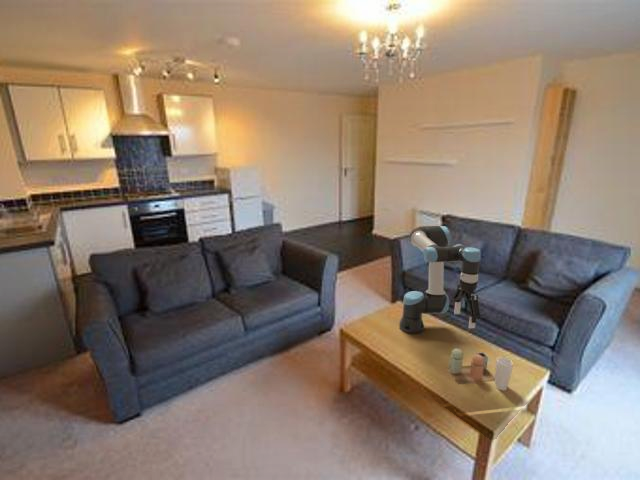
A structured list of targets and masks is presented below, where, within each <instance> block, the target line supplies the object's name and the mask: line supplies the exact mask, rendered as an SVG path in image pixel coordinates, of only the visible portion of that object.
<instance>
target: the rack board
mask: <svg viewBox="0 0 640 480" xmlns="http://www.w3.org/2000/svg"><path fill="white" fill-rule="evenodd" d="M445 369H446V370H447V372H448V373H449V374H450V376H451V377H452V378H453V380H454V381H455V382H456V384H457V385H464V384H465V385H467V384H477V383H487V382H495V375H493V374H492V373H491V372H490V370H488V369H487V368H486V371H483V375H482V380H475V381H474V380H473V379H472V377H471V376H470V369H471V364H470V365H462V368H461V373H457V374H453V373H452V371H451V370H450V366H449V367H445Z"/></svg>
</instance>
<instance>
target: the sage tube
mask: <svg viewBox="0 0 640 480" xmlns="http://www.w3.org/2000/svg"><path fill="white" fill-rule="evenodd" d="M463 360H464V359H463V357H461V358H460V359H455V358H454V357H453V356H452V354H451V355H450V361H449V367H450V370H451V371H452V373H453V374H457V373H461V368H462V366H463Z"/></svg>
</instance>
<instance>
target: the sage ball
mask: <svg viewBox="0 0 640 480" xmlns="http://www.w3.org/2000/svg"><path fill="white" fill-rule="evenodd" d="M451 355H452V356H453V357H454V358H455V359H460V358H463V355H464V354H463V351H462V350H461V349H459V348H453V349H452V351H451Z"/></svg>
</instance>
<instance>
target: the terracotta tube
mask: <svg viewBox="0 0 640 480" xmlns="http://www.w3.org/2000/svg"><path fill="white" fill-rule="evenodd" d="M470 365H471V369H470V376H471V377H472V379H473V380H474V381H475V380H482V375H483V368H484V365H483V364H482V365H476V364H474V363H473V360H471V362H470Z"/></svg>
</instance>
